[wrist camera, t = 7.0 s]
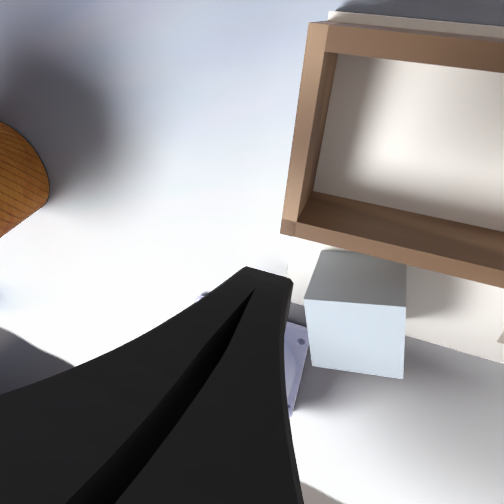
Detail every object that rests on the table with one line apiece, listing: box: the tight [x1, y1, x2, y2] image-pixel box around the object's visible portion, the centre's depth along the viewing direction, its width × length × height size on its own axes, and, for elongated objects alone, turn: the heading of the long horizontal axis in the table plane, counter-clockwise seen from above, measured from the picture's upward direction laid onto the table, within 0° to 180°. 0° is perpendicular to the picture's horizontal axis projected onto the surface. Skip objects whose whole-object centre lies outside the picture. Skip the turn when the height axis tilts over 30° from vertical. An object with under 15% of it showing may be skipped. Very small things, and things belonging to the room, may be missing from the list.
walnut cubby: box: [280, 21, 504, 289], centre depth 13 cm, size 7×11×3 cm
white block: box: [303, 251, 406, 379], centre depth 17 cm, size 4×4×4 cm
